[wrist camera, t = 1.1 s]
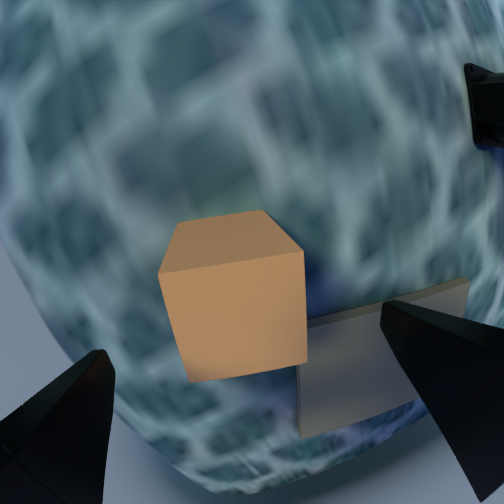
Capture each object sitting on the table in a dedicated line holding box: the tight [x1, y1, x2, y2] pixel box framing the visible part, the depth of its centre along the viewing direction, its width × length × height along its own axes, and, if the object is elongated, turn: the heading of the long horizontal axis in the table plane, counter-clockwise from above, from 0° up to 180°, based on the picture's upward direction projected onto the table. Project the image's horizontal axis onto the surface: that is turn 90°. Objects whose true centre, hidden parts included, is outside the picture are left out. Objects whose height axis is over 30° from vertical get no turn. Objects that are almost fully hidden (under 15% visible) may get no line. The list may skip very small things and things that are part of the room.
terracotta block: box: [158, 210, 307, 383], centre depth 13 cm, size 4×4×7 cm
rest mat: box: [296, 277, 470, 439], centre depth 20 cm, size 15×12×1 cm
